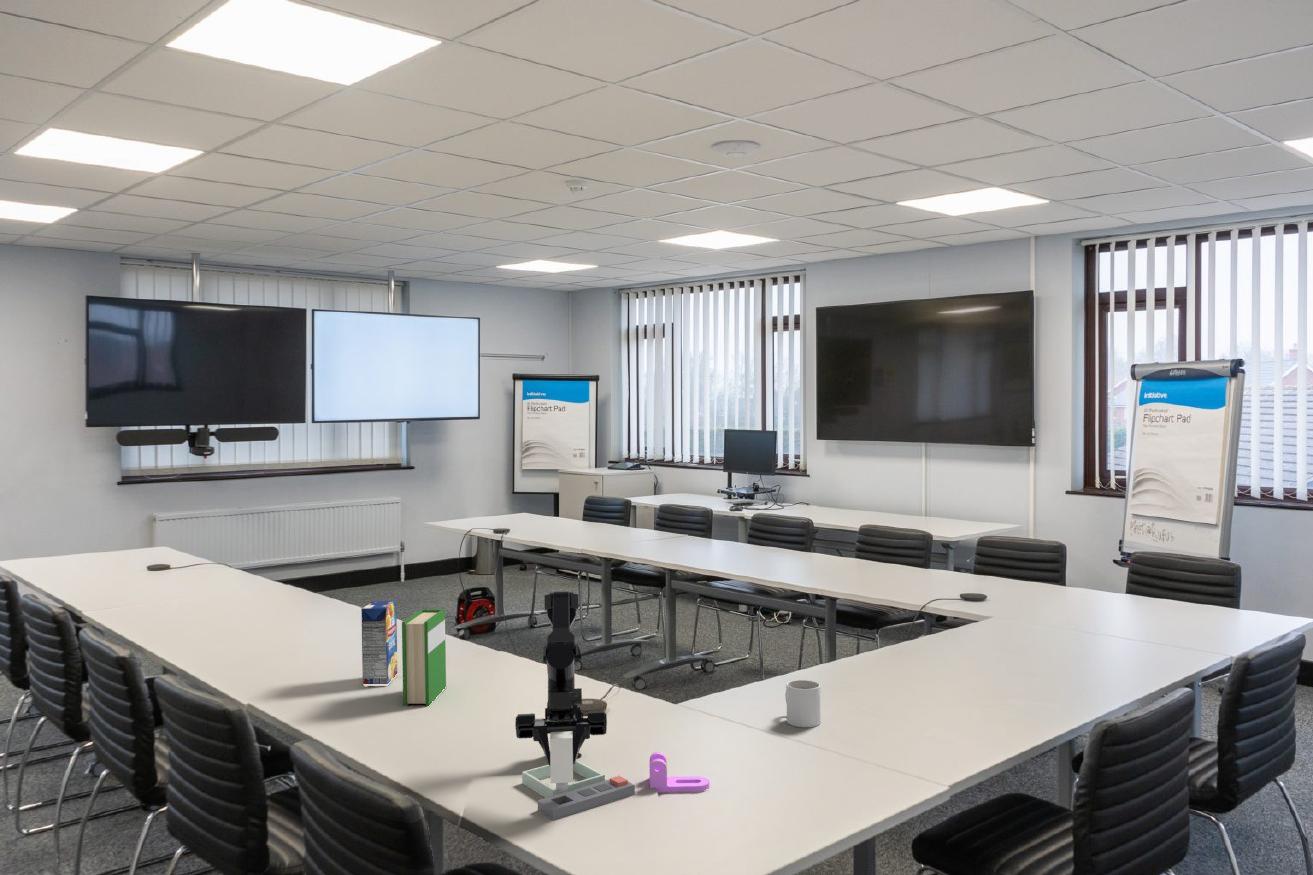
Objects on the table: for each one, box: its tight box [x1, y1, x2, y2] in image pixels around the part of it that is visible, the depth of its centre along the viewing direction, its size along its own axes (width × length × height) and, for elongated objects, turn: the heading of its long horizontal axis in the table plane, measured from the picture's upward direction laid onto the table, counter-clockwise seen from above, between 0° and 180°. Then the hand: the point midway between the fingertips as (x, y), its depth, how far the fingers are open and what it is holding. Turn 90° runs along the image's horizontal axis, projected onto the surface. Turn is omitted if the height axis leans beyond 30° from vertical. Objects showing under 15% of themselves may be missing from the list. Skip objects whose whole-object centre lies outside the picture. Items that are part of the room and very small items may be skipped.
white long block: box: [549, 731, 574, 791], centre depth 186 cm, size 4×4×11 cm
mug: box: [784, 679, 822, 728], centre depth 243 cm, size 11×10×10 cm
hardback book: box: [401, 608, 447, 707], centre depth 269 cm, size 18×7×24 cm, turn 177°
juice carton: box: [361, 600, 398, 685], centre depth 286 cm, size 12×8×24 cm, turn 1°
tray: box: [521, 759, 606, 798], centre depth 200 cm, size 13×13×4 cm
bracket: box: [649, 751, 711, 794], centre depth 200 cm, size 13×6×7 cm, turn 90°
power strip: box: [537, 775, 636, 821], centre depth 190 cm, size 20×6×4 cm, turn 127°
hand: (561, 763), depth 185 cm, fingers closed on white long block, 4 cm apart
